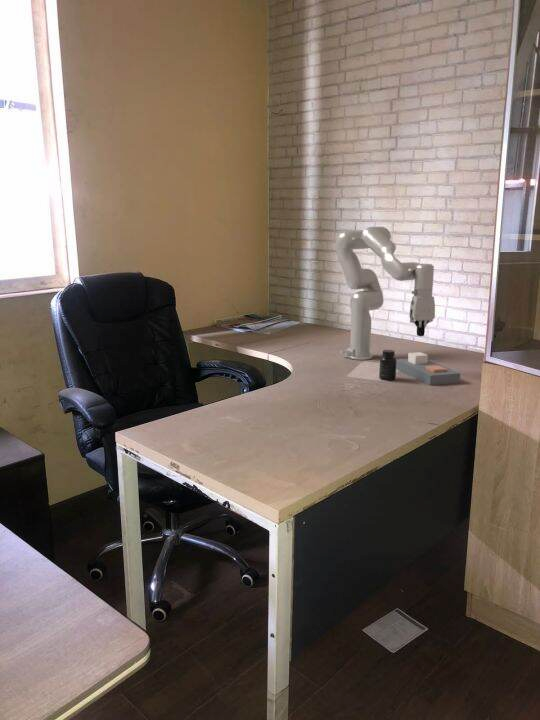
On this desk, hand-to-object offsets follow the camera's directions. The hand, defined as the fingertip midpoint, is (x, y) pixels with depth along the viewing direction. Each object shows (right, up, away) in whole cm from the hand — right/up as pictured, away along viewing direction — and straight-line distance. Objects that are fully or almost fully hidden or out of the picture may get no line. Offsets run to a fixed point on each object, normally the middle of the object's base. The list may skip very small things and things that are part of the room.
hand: (420, 335), depth 250 cm
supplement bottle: (-16, -19, -9) cm, 26 cm away
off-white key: (0, -13, +4) cm, 13 cm away
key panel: (+2, -17, -2) cm, 17 cm away
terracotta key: (+4, -18, -9) cm, 21 cm away
